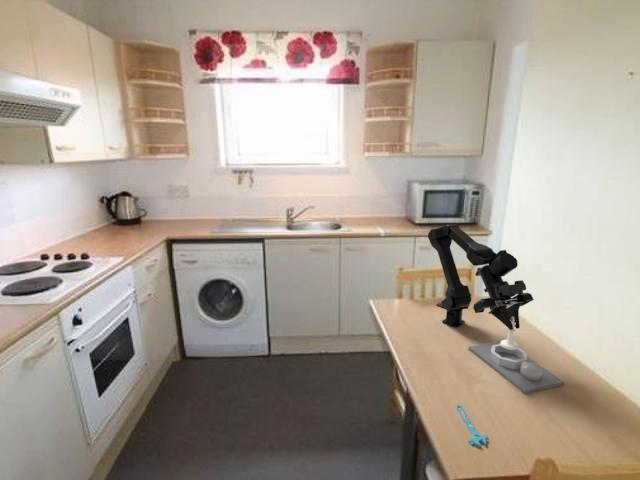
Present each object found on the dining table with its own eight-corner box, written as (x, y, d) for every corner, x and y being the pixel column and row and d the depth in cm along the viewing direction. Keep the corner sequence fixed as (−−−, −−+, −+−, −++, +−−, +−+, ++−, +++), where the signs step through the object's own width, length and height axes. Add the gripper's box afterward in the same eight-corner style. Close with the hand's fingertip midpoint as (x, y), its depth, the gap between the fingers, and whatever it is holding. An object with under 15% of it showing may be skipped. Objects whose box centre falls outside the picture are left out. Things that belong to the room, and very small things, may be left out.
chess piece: (503, 349, 114) (507, 320, 111) (498, 341, 118) (502, 312, 116) (520, 350, 113) (524, 321, 111) (514, 342, 118) (518, 313, 115)
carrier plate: (468, 349, 125) (469, 338, 124) (502, 343, 128) (503, 332, 127) (524, 393, 102) (526, 381, 101) (563, 384, 106) (566, 372, 105)
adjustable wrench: (493, 444, 84) (472, 445, 84) (493, 448, 85) (471, 449, 84) (467, 403, 98) (448, 404, 98) (466, 406, 98) (448, 407, 98)
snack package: (450, 295, 166) (460, 299, 162) (450, 299, 166) (460, 303, 162) (435, 302, 159) (445, 306, 155) (435, 306, 159) (445, 310, 155)
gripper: (483, 275, 111) (506, 325, 104) (533, 268, 116) (558, 316, 108) (464, 289, 120) (483, 336, 113) (511, 283, 125) (532, 327, 118)
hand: (515, 328), depth 113 cm, fingers closed on chess piece
